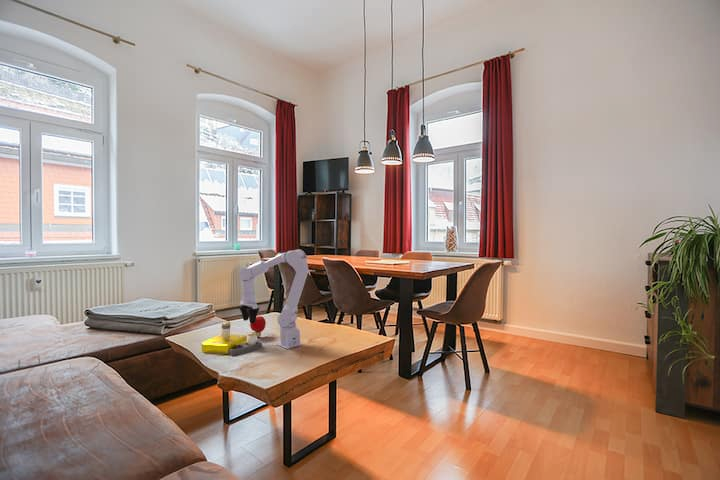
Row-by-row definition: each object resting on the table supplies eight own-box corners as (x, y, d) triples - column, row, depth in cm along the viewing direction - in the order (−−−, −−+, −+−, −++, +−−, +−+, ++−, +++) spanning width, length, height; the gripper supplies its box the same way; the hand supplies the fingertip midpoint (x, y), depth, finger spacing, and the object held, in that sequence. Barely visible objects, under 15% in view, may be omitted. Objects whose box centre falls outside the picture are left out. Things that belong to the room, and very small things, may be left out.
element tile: (199, 353, 157) (199, 342, 157) (221, 342, 172) (220, 332, 171) (229, 355, 153) (229, 344, 153) (248, 344, 168) (248, 334, 168)
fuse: (257, 348, 160) (257, 333, 160) (249, 350, 158) (249, 334, 157) (254, 346, 163) (253, 331, 163) (246, 348, 160) (245, 333, 160)
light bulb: (260, 340, 172) (259, 319, 171) (247, 339, 173) (246, 319, 173) (269, 334, 181) (268, 315, 181) (256, 334, 182) (255, 314, 182)
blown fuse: (230, 338, 162) (231, 323, 161) (222, 339, 160) (223, 324, 159) (228, 336, 165) (229, 321, 164) (220, 337, 163) (221, 321, 162)
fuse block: (262, 348, 160) (262, 343, 160) (231, 355, 151) (231, 350, 151) (256, 345, 165) (256, 340, 165) (226, 352, 156) (226, 347, 156)
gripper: (233, 292, 170) (234, 320, 170) (246, 296, 159) (247, 326, 159) (248, 290, 175) (249, 317, 175) (261, 293, 164) (262, 323, 164)
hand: (249, 321), depth 168 cm, fingers open, 7 cm apart
